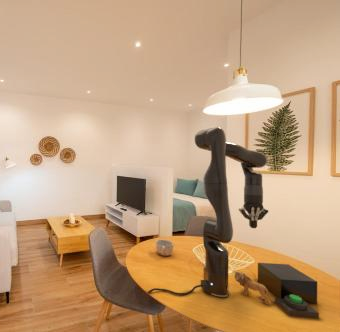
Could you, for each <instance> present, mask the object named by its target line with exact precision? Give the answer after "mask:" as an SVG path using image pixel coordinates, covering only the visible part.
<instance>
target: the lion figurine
mask: <svg viewBox="0 0 340 332" xmlns="http://www.w3.org/2000/svg"><path fill="white" fill-rule="evenodd" d="M234 279H235V281H236V282H237V283H239V285H240V286H241V287H243V289H244V292H242V294H243V295H248V293H249V289H250V290H252V291H254V292H258V293H259V294H260V299H261V300H265V301H264V304H265V305H269V304H270V303H272V304H274V305H275V304H276V303H275V301H273V300H272V299H271V296H270V292H269V291H268V290H267V289H266V287H265V286H264V285H262V284H260V283H259V282H256V281H253V280H252V279H251V277H249V276H248V275H246V274H245V273H244V272H243V271H239V270H237V271H235V272H234ZM266 294H267V295H266Z"/></svg>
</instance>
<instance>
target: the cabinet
mask: <svg viewBox="0 0 340 332" xmlns="http://www.w3.org/2000/svg"><path fill="white" fill-rule="evenodd" d="M257 283H259V284H262V285H264V286H265V287H266V289H267V290H268V292H269V293H270V294H272V295H273V296H274V298H285V296H287V295H289V296H290V295H291V294H292V295H296V296H299V297H301V298H302V300H304V301H305V302H307V304H308V305H318V281H317V280H316V279H314V278H312V277H310V276H309V275H307V274H305V273H304V272H302V271H300V270H298V269H297V268H295V267H293V266H292V265H290V264H288V263H274V262H273V263H271V262H257Z"/></svg>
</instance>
